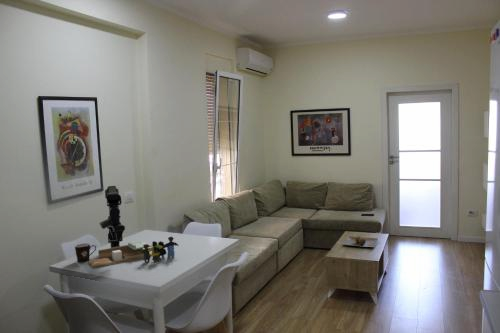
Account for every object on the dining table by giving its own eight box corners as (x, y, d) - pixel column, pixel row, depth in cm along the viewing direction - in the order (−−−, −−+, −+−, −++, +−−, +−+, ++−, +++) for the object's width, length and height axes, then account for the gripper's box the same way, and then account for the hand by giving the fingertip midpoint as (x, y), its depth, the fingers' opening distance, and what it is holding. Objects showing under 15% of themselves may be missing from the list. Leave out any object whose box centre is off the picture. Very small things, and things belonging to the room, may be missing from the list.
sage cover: (128, 246, 259) (128, 242, 259) (145, 243, 265) (145, 239, 265) (134, 249, 250) (133, 245, 250) (151, 246, 257) (151, 242, 256)
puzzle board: (88, 263, 247) (87, 252, 247) (144, 252, 267) (143, 241, 266) (94, 269, 237) (93, 257, 236) (151, 257, 256) (150, 246, 255)
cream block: (112, 260, 251) (111, 251, 251) (119, 258, 254) (119, 249, 253) (114, 261, 247) (114, 252, 247) (122, 260, 250) (121, 251, 249)
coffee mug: (74, 264, 248) (73, 247, 247) (77, 260, 256) (76, 244, 255) (94, 262, 250) (93, 245, 249) (97, 258, 258) (96, 242, 257)
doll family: (171, 254, 261) (170, 233, 260) (180, 256, 255) (179, 235, 254) (139, 264, 243) (138, 241, 242) (149, 266, 237) (147, 243, 236)
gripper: (96, 214, 251) (98, 239, 253) (104, 218, 236) (106, 245, 237) (114, 211, 258) (116, 236, 259) (124, 215, 242) (126, 242, 244)
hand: (116, 240), depth 250 cm, fingers open, 9 cm apart
